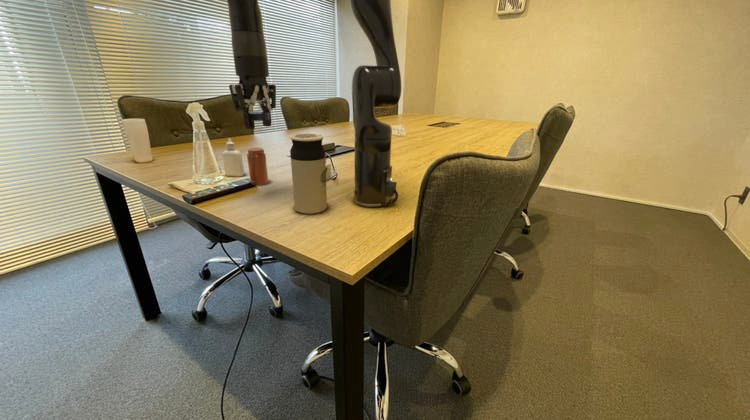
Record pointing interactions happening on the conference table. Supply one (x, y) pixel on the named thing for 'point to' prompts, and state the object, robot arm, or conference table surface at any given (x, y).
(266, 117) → the lid
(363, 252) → the conference table surface
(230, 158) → the eye dropper bottle
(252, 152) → the jar
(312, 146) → the travel mug
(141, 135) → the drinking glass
